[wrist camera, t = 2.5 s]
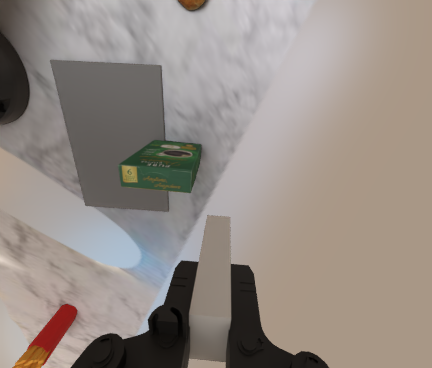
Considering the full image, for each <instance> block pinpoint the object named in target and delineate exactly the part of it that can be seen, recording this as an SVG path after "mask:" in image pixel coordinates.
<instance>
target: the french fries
mask: <svg viewBox="0 0 432 368" xmlns="http://www.w3.org/2000/svg"><path fill="white" fill-rule="evenodd" d="M76 314H77V309H76V308H75V307H74V306H71V305H68V304H65V305H62V306H61V308H60V309H59V310H58V311H57V312H56V314H55V315H54V316H53V317H52V318H51V320H50V321H49V322H48V323H47V325H46V326H45V327H44V328H43V329H42V331H41V332H40V333H39V334H38V335H37V337H36V338H35V339H34V340H33V342H32V343H31V344H30V345H29V347H28V349H27V351H26V352H25V353H24V354H23V355H22V357H21V358H20V359H19V360H18V361H17V362H16V363H15V366H14V367H13V368H41V366H42V365H44V364H45V363H46V361H47V360H48V358H49V357H50V355H51V354H52V352H53V351H54V349H55V348H56V346H57V345H58V343H59V342H60V340H61V339H62V337H63V336H64V334H65V333H66V331H67V330H68V328H69V327H70V326H71V324H72V323H73V321H74V319H75V317H76Z"/></svg>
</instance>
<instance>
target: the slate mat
mask: <svg viewBox="0 0 432 368" xmlns="http://www.w3.org/2000/svg"><path fill="white" fill-rule="evenodd" d="M50 62H51V66H52V70H53V74H54V78H55V82H56V86H57V91H58V95H59V99H60V103H61V107H62V111H63V115H64V119H65V123H66V128H67V132H68V136H69V140H70V144H71V148H72V152H73V156H74V161H75V165H76V169H77V173H78V177H79V181H80V185H81V189H82V193H83V198H84V202H85V205H86V206H95V207H109V208H123V209H137V210H152V211H166V212H168V211H169V203H168V191H162V190H151V189H140V188H129V187H121V182H120V176H119V170H118V164H120V163H121V162H123V161H124V160H126V159H127V158H128V157H130V156H131V155H133V154H134V153H136V152H137V151H139V150H140V149H142V148H143V147H144V146H146V145H147V144H149V143H150V142H151V141H153V140H161V141H165V128H164V109H163V91H162V72H161V65H144V64H124V63H103V62H82V61H61V60H50Z"/></svg>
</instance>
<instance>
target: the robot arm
mask: <svg viewBox="0 0 432 368" xmlns="http://www.w3.org/2000/svg"><path fill="white" fill-rule="evenodd" d="M28 95H29V89H28V81H27V77H26V73H25V70H24V67H23V65H22V63H21V61H20V59H19V57H18V55H17V53H16V52H15V50H14V48H13V47H12V46H11V44H10V43H9V42H8V40H7V39H6V38H5V37H4V36H3V35H2V34H1V33H0V124H5V123H9V122H12V121H14V120H16V119H17V118H18V117H20V116H21V114H22V113H23V112H24V110H25V108H26V105H27V102H28ZM230 252H231V251H230V217H223V216H209V215H207V220H206V226H205V231H204V236H203V241H202V247H201V252H200V258H199V262H192V261H181V262H180V263H179V264H178V265H177V267H176V268H175V271H174V274H173V277H172V280H171V283H170V287H169V290H168V293H167V296H166V299H165V302H164V305H162V306H159V307H158V308H157V309H155V310H154V311H153V312H152V314H151V315H150V317H149V319H148V325H149V331H147V332H146V333H143V334H141V335H138V336H134V337H130V338H127V339H122V338H121V337H120V336H119V335H118V334H112V333H109V334H105V335H102V336H100V337H99V338H97V339H95V340H94V341H93V342H92V343H91V344H90V345H89V346H88V347H87V348H86V349H85V350H84V351H83V353H82V354H81V355H80V357H79V358H78V359H77V360H76V362H75V363H74V364H73V365H72V367H71V368H187V367H188V361H189V358H190V359H200V360H210V361H220V362H226V368H329V367H328V366H327V364H326V363H325V362H324V361H323V360H322V359H321V358H319V357H318V356H317V355H315V354H313V353H311V352H304V351H301V352H299V353H297V354H296V355H293V354H291V353H288V352H286V351H284V350H282V349H280V348H278V347H277V346H275V345H273V344H272V343H271V342H270V341H269V340H268V338H267V337H266V336H265V334H264V332H263V330H262V327H261V322H260V315H259V308H258V301H257V294H256V287H255V280H254V274H253V272H252V270H251V269H250V267H249V266H248V265H237V264H231V257H230V256H231V254H230Z"/></svg>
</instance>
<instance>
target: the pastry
mask: <svg viewBox="0 0 432 368" xmlns="http://www.w3.org/2000/svg"><path fill="white" fill-rule="evenodd" d="M178 1H179V2H180V3H181V4H182V5H183V6H184V7H185V8H186V9H188V10H195V9H197V8H199V7H200V6H201V5H202V4H203V3H204V2H205V0H178Z"/></svg>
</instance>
